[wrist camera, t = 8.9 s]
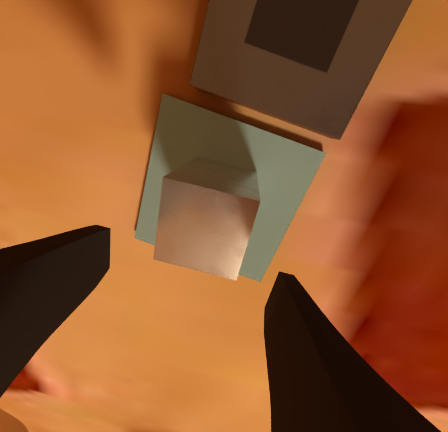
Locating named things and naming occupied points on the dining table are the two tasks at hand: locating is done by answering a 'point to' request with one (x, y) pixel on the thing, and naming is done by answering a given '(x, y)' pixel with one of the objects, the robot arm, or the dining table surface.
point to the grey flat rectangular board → (295, 56)
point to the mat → (237, 156)
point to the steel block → (206, 216)
